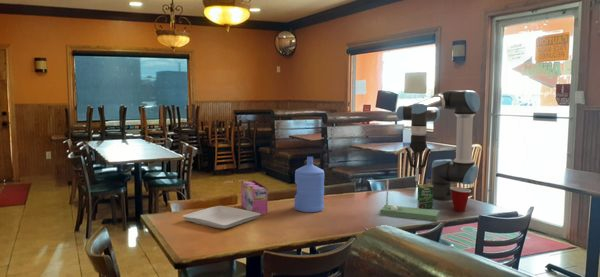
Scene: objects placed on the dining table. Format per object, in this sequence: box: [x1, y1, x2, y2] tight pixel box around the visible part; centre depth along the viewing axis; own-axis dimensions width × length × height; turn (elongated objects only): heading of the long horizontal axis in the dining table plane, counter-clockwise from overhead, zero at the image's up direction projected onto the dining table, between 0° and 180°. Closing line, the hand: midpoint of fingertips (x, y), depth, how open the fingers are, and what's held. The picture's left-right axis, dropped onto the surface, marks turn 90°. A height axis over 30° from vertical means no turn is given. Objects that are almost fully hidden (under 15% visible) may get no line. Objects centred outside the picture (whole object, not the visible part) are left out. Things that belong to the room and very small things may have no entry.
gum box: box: [240, 180, 269, 216], centre depth 248 cm, size 24×8×14 cm, turn 23°
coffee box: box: [416, 183, 434, 209], centre depth 258 cm, size 8×3×13 cm, turn 92°
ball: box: [390, 205, 398, 210], centre depth 245 cm, size 4×4×4 cm
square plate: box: [181, 205, 261, 230], centre depth 225 cm, size 27×27×4 cm
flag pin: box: [385, 179, 389, 206], centre depth 250 cm, size 4×1×14 cm, turn 158°
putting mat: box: [379, 204, 440, 222], centre depth 243 cm, size 12×28×2 cm, turn 68°
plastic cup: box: [450, 186, 472, 213], centre depth 254 cm, size 11×11×12 cm
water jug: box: [293, 156, 325, 213], centre depth 250 cm, size 16×16×28 cm
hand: (417, 180), depth 240 cm, fingers closed
